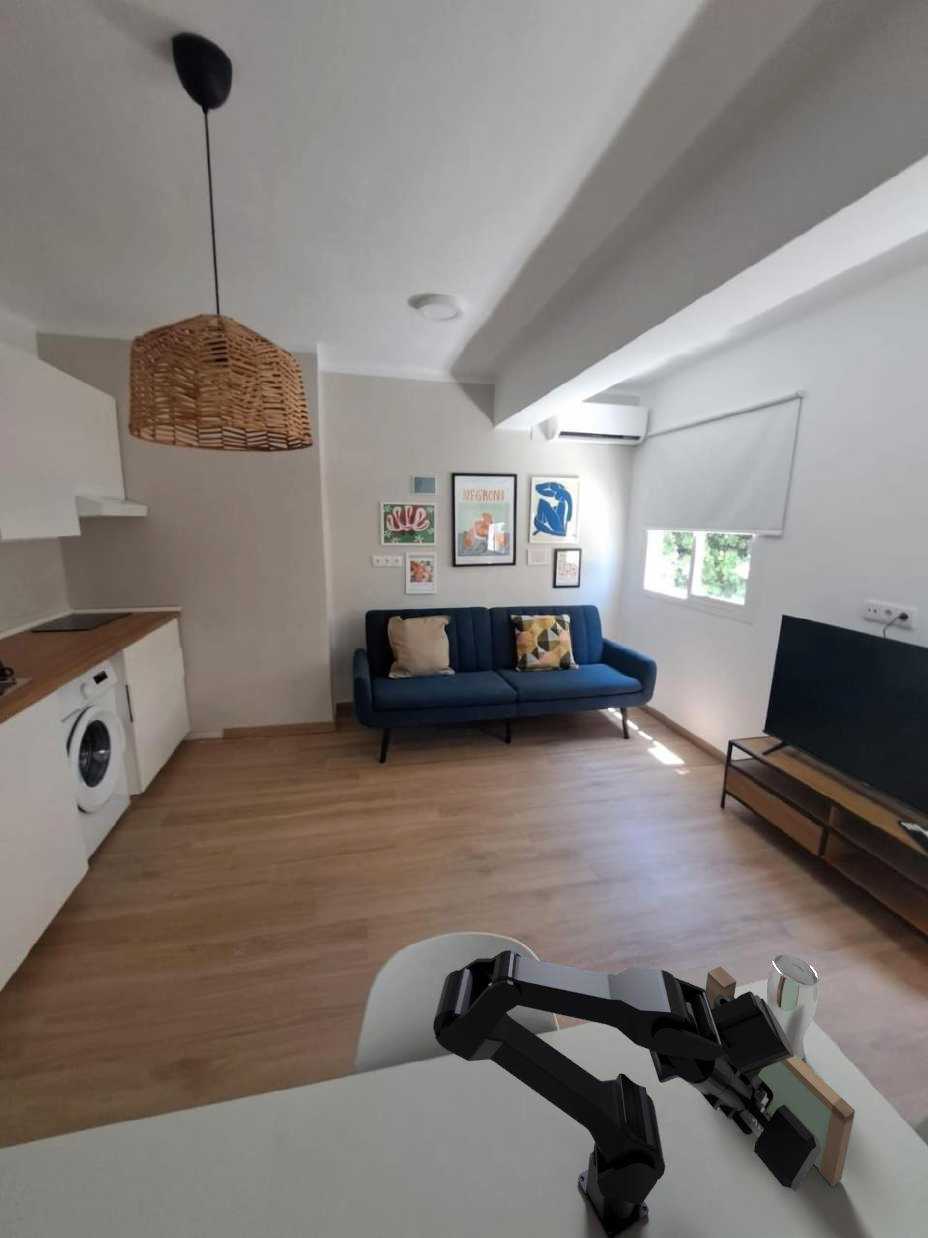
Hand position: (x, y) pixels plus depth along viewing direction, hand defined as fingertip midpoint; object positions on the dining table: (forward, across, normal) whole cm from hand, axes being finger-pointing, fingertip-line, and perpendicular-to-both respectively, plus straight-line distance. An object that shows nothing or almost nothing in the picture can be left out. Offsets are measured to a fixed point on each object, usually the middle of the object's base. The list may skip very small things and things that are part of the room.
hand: (755, 1101), depth 65 cm
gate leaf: (+14, +2, 0) cm, 14 cm away
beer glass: (+23, +9, -8) cm, 26 cm away
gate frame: (+13, +5, +2) cm, 14 cm away
